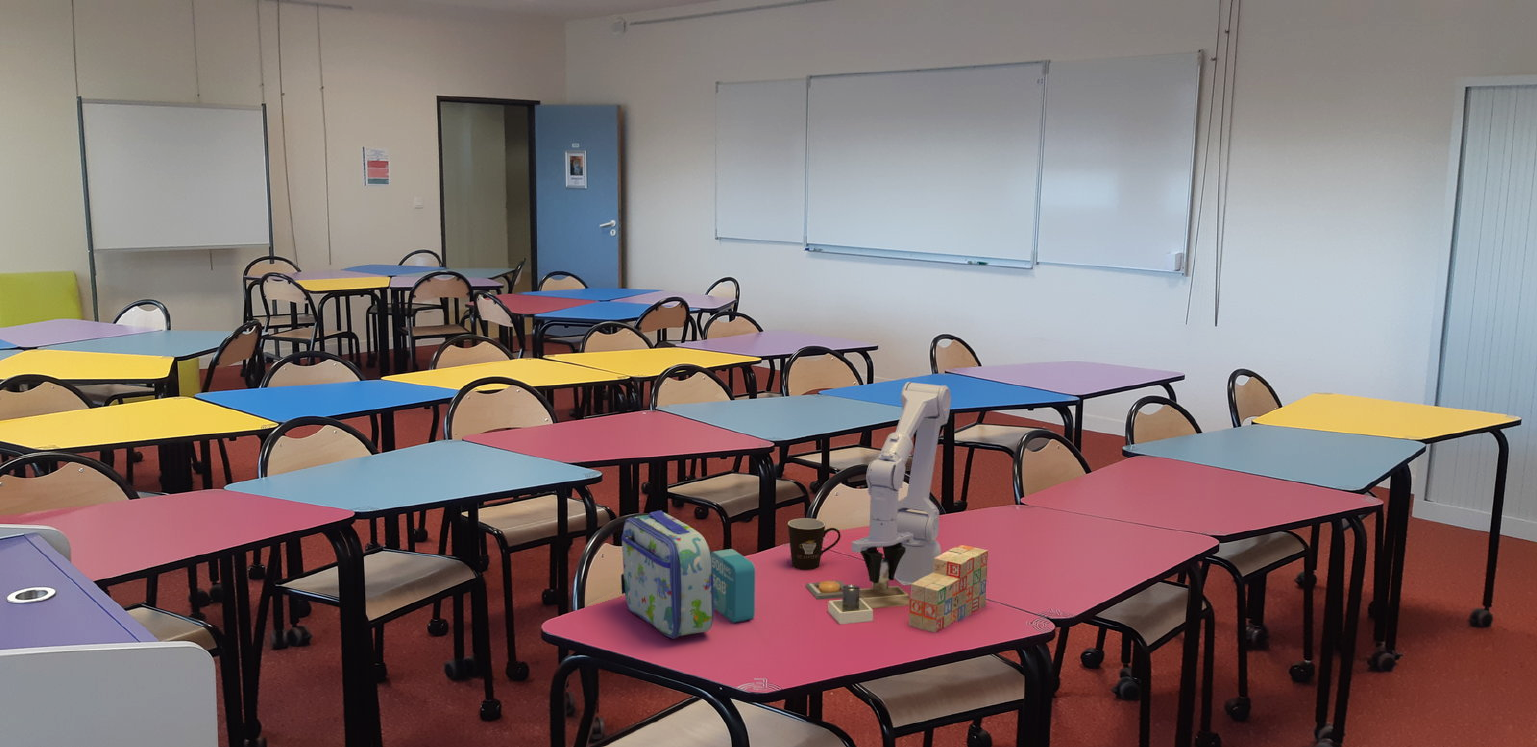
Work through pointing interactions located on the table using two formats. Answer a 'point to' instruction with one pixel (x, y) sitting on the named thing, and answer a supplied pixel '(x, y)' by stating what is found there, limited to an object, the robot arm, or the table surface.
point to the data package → (733, 585)
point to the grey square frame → (818, 595)
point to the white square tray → (850, 612)
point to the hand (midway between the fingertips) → (881, 580)
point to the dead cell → (850, 598)
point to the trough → (884, 597)
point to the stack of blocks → (950, 589)
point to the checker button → (829, 587)
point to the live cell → (882, 576)
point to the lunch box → (667, 574)
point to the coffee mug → (807, 542)
